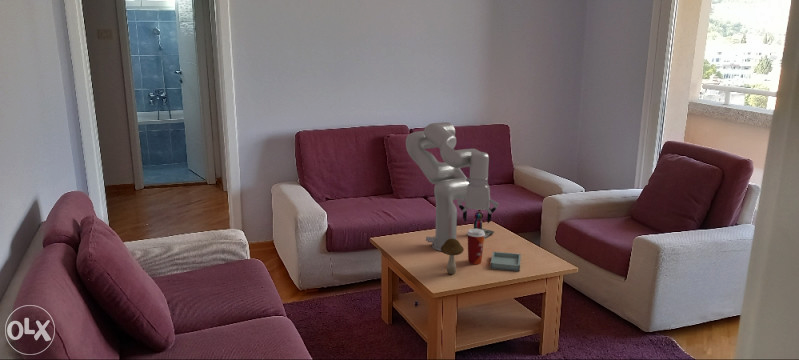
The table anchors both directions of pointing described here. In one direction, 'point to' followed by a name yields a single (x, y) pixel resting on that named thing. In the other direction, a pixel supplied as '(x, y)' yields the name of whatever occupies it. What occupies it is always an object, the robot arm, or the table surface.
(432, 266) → the table surface
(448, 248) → the mushroom
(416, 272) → the table surface
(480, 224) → the statue
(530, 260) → the table surface
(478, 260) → the paper cup
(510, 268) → the tray
